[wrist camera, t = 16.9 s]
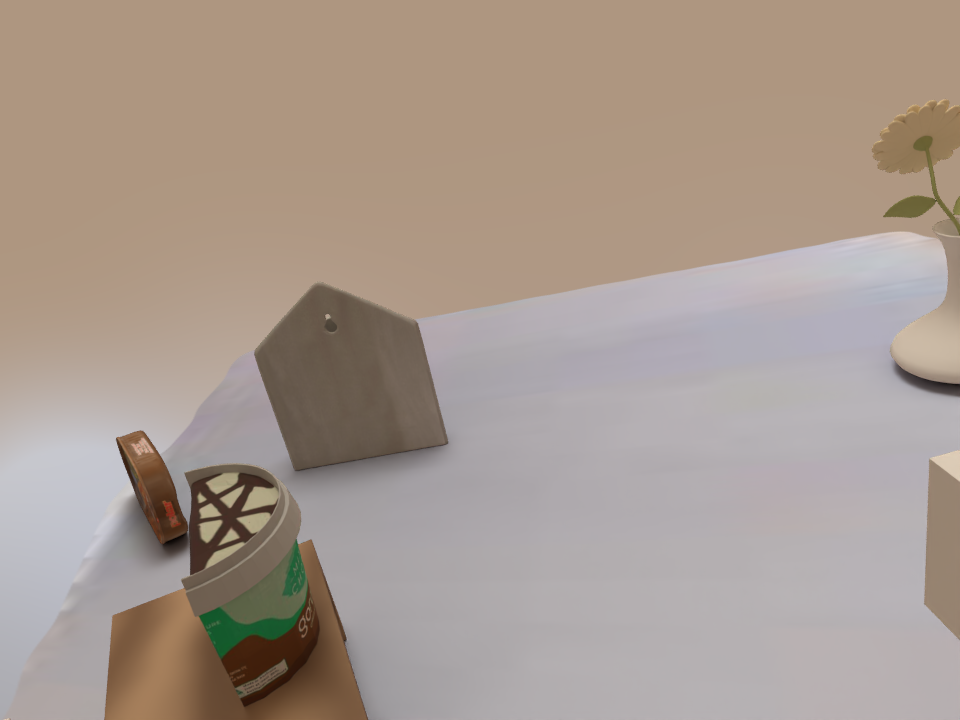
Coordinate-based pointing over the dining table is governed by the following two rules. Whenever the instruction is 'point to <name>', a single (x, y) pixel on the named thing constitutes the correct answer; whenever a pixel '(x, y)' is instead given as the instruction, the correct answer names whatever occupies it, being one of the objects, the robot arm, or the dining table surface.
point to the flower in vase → (910, 147)
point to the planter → (348, 380)
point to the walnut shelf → (202, 677)
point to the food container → (249, 576)
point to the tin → (152, 485)
